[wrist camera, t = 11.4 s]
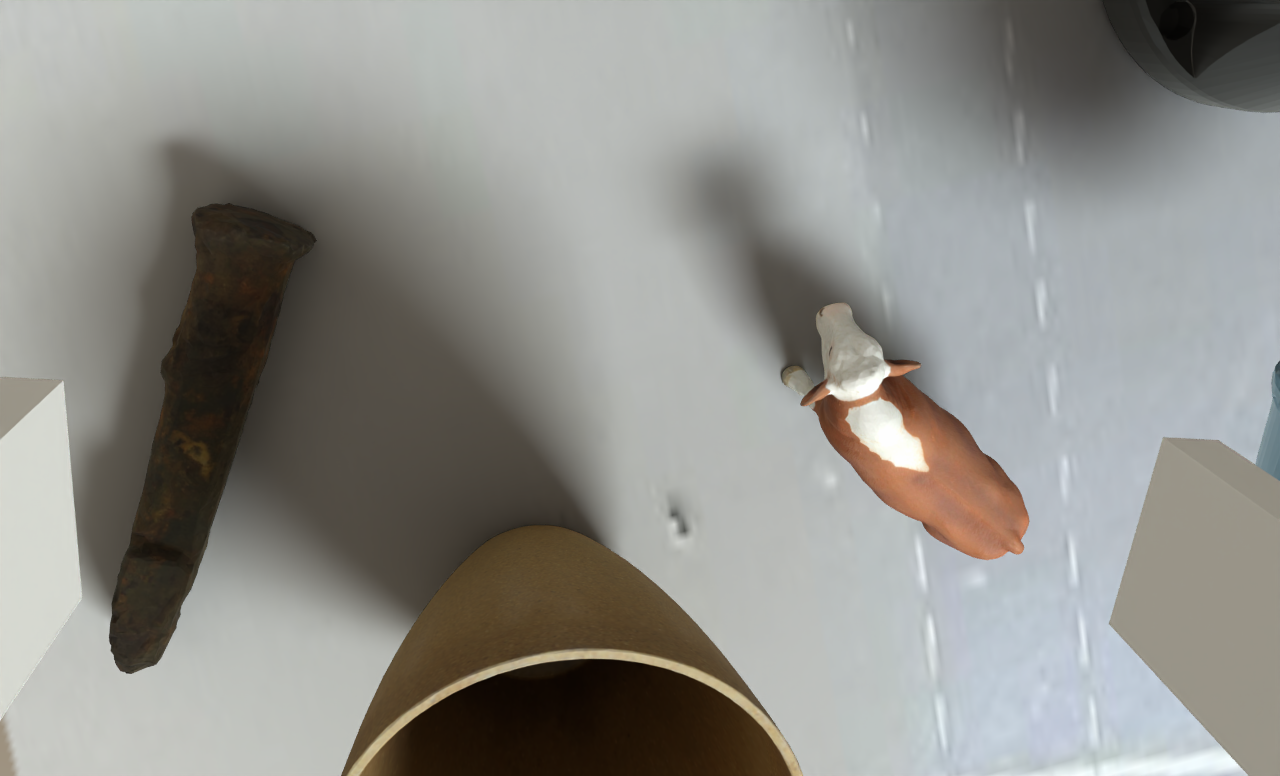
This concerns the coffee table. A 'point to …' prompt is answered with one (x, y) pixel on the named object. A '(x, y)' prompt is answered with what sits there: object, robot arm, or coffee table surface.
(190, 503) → the hand tool
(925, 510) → the bull figurine
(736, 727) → the plant pot
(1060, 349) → the coffee table surface
